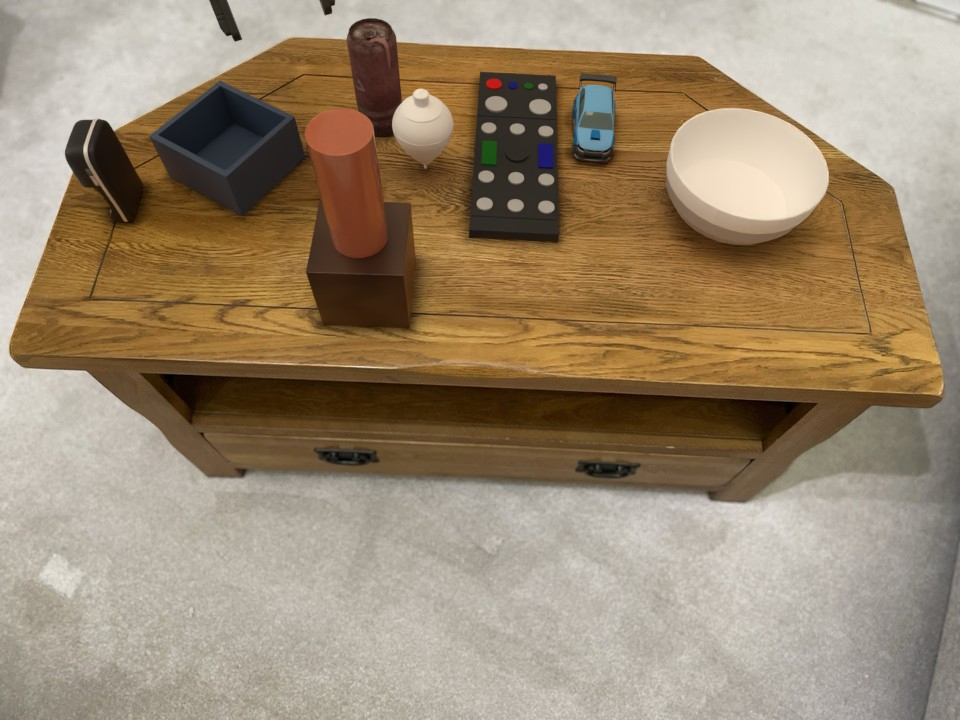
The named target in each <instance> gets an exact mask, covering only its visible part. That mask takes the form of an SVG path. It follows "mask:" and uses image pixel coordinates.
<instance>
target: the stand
mask: <svg viewBox="0 0 960 720" xmlns="http://www.w3.org/2000/svg"><path fill="white" fill-rule="evenodd" d="M384 206H385V213H386V220H387V227H388V240H387V243H386V245H385V246H384V247H383V249H381V250H380V251H379V252H378V253H376V254H374V255H372V256H369V257H366V258H351V257H347V256H345V255H342V254H341V253H339V252H338V251H337V250H336V249H335V247H334V246H333V244H332V240H331V236H330V232H329V228H328V224H327V221H326V217H325V213H324V209H323V205H322V201H321V199H319V202H318V207H317V211H316V216H315V223H314V229H313V232H312V239H311V245H310V249H309V254H308V258H307V259H308V260H307V265H306V270H305V274H306V277H307V280H308V283H309V286H310V290H311V292H312V296H313V299H314V302H315V304H316V308H317V310H318V314H319V316H320V319H321V322H322V325H323V326H332V327H358V328H359V327H362V328H363V327H364V328H365V327H366V328H393V329H395V328H396V329H397V328H398V329H411V320H412V310H413V309H412V308H413V296H414V287H415V274H416V262H417V257H416V247H415V245H416V244H415V234H414V226H413V214H412V203H411V202H400V201H399V202H394V201H384Z"/></svg>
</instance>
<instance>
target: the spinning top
mask: <svg viewBox="0 0 960 720" xmlns="http://www.w3.org/2000/svg"><path fill="white" fill-rule="evenodd" d="M392 129H393V136H394V139H395V140H396V142H397V143H398V145H399V146H400V147H401V148H402V150H403V151H404V152H405V153H406V154H407V155H408V156H410V157H411V158H412V159H413V160H414V161H416V162H418V163H420V164H422V165H423V169H425V170H427V169H428V165H429V164H430V163H432V162H433V161H435V160H436V158H438V156H440V154H442V153H443V152H444V150H445V148H446V147H447V145H448V144H449V142H450V141H451V138H452V136H453V132H454V119H453V115H452V112H451V111H450V109H449V108H448V106H446V104H445V103H444V102H443V101H441V100H440V99H439V98H438V97H436V96H435V95H433V94H430V93H429V91H428V90H427V89H425V88H416V89H415V90H413V92H412V95H410V96H408V97H406V98H405V99H404V100H402V103H401V104H400V105H399V106H398V108H397V109H396V111H395V113H394V116H393V120H392Z"/></svg>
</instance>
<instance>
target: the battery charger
mask: <svg viewBox="0 0 960 720" xmlns="http://www.w3.org/2000/svg"><path fill="white" fill-rule="evenodd" d="M64 157H65V161H66V163H67V165H68V166H69V168H70V170H71V171H72V173H73V175H74V176H75V178H76V180H77V181H78V182H79V183H80V184H81V186H82V187H83V188H87V189H93V190H95V191H96V192H98V193H99V194H100V195H101V196H102V198H103V199H104V201H105V202H106V203H107V205H108V206H109V209H108V213H107V215H108V218H110V219H111V220H113V221H115V222H124V223H129V222H132V221H134V219H135V217H136V214H137V209H138V206H139V203H140V199H141V195H142V192H143V187H144V182H143V181H142V178H140V176H139V174H138V172H137V170H136V169H135V166H134V165H133V164H132V161H131V159H130V157H129V156H128V154H127V152H126V150H125V148H124V146H123V143H122V142H121V141H120V139H119V137H118V135H117V134H116V132H115V130H114V129H113V128H112V126H111V124H110V122H108V121H107V120H105V119H102V118H93V119H79V120H77V121H76V122H75V123H74V125H73V127H72V129H71V132H70V134H69V137H68V141H67V142H66V146H65V150H64Z"/></svg>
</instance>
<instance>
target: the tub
mask: <svg viewBox="0 0 960 720" xmlns="http://www.w3.org/2000/svg"><path fill="white" fill-rule="evenodd" d="M148 138H149V140H150V142H151V143H152V145H153V147H154V149H155V151H156V153H157V155H158V157H159V159H160V161H161V163H162V166H163V167H164V169H165V171H166V172H167V174H168V176H169V178H171V179H173V180H175V181H177V182H178V183H180V184H182V185H184V186H185V187H188V188H189V189H192V190H193V191H195V192H197V193H198V194H201V195H202V196H204V197H206V198H208V199H210V200H211V201H214V202H215V203H216V204H219V205H221V206H222V207H224V208H226V209H228V210H230V211H232V212H234V213H235V214H237V215H240V216H241V217H243V216H244V215H245V214H246V213H248V211H250V210H251V208H253V207H254V206H255V205H256V204H257V203H259V202H260V200H262V199H263V198H264V197H265V195H267V194H268V193H269V192H270V191H271V190H272V189H273V188H274V187H276V185H278V184H279V183H280V182H281V181H282V180H283V179H284V178H285V177H286V176H287V175H289V173H291V172H292V171H293V170H294V169H295V168H296V167H297V166H298V165H299V164H300V163H301V162H302V161H304V160H305V159H306V154H305V150H304V147H303V143H302V138H301V135H300V132H299V127H298V123H297V119H296V116H294V115H293V114H290V113H288V112H286V111H284V110H282V109H280V108H278V107H277V106H274V105H272V104H270V103H267V102H266V101H263V100H261V99H260V98H258V97H256V96H253V95H251V94H249V93H246V92H245V91H243V90H241V89H239V88H236V87H235V86H233V85H231V84H229V83H226V82H224V81H222V80H218V81H217V82H216V83H215V84H213V85H212V86H211V87H209V88H208V89H207V90H205V91H204V92H203V93H202V94H201V95H199V96H197V98H196V99H194V100H193V101H191V102H190V103H189V104H188V105H187V106H185V107H184V108H183V109H181V110H180V111H178V113H176V114H175V115H173V116H172V117H171V118H169V120H167V121H166V122H164V123H163V124H162V125H161V126H160V127H158V128H157V129H155V130H154V131H153V132H152V133H151V134H150V135H148Z"/></svg>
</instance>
